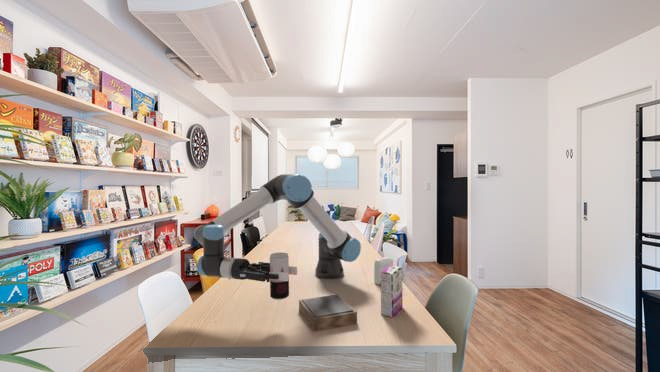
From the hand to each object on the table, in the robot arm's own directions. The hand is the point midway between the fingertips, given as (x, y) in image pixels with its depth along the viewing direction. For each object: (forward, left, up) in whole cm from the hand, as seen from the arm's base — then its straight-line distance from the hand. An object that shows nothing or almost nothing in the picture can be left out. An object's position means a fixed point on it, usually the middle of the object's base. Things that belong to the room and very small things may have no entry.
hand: (292, 273), depth 109 cm
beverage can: (+4, -3, -9) cm, 10 cm away
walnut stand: (-13, -1, -18) cm, 22 cm away
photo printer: (-53, -26, -18) cm, 62 cm away
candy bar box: (-38, +4, -18) cm, 43 cm away
